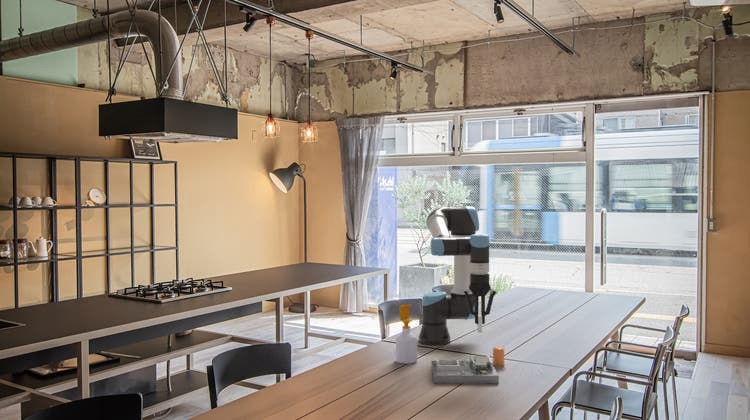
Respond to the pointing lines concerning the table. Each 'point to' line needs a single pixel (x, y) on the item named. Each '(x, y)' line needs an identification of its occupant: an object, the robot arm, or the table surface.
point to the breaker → (481, 359)
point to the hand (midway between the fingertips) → (479, 331)
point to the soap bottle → (406, 340)
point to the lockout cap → (498, 356)
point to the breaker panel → (464, 372)
